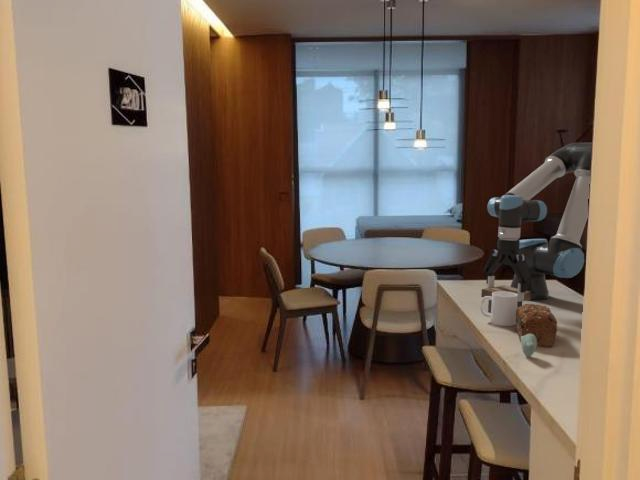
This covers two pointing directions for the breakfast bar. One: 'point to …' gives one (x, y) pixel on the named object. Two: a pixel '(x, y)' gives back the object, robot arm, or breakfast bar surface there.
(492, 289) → the lid
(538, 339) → the bread
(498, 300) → the cup
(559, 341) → the breakfast bar surface
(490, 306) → the block
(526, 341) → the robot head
